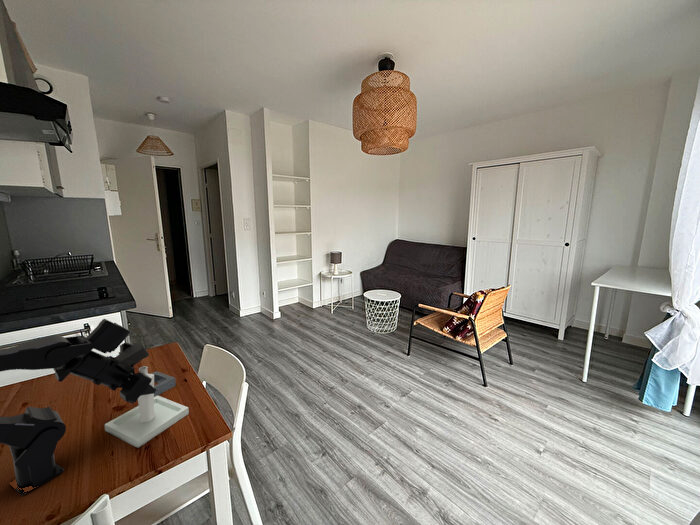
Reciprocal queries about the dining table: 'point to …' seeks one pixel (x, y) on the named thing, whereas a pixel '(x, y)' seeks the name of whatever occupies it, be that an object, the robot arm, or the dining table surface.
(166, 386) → the bottle collar
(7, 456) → the dining table surface
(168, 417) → the tray
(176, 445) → the dining table surface
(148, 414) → the perfume bottle
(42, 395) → the dining table surface
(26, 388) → the dining table surface
